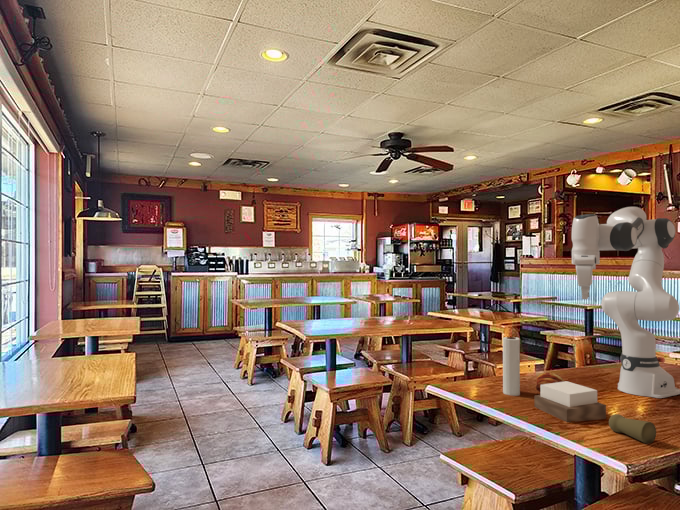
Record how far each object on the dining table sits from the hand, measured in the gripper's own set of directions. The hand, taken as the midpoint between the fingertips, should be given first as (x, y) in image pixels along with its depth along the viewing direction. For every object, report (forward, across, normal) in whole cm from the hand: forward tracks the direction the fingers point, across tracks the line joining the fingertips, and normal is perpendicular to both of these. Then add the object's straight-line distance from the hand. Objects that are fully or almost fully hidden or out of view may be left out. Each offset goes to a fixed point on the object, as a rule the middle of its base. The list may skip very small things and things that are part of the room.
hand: (585, 298), depth 165 cm
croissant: (+37, -8, -11) cm, 39 cm away
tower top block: (+33, +16, -5) cm, 37 cm away
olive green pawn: (+34, +33, +17) cm, 50 cm away
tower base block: (+38, +16, -4) cm, 41 cm away
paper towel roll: (+37, +3, -24) cm, 45 cm away
